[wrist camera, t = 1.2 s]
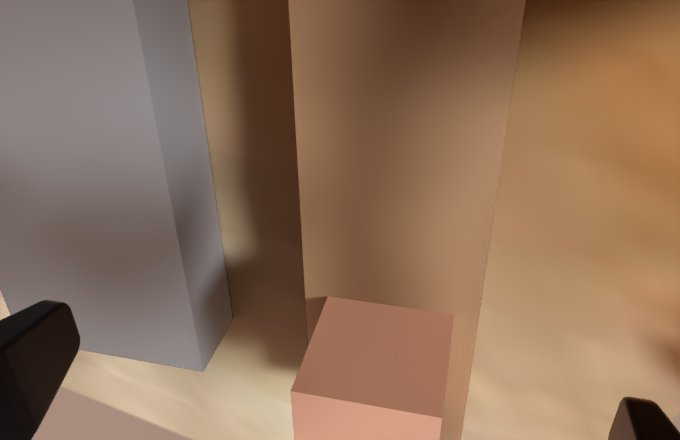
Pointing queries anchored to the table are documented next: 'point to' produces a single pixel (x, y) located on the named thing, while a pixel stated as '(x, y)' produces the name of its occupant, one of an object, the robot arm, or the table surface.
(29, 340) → the robot arm
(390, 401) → the block
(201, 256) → the block
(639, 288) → the table surface
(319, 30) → the tan long bar
